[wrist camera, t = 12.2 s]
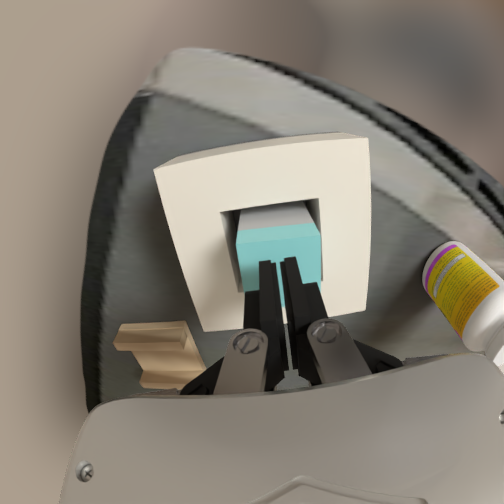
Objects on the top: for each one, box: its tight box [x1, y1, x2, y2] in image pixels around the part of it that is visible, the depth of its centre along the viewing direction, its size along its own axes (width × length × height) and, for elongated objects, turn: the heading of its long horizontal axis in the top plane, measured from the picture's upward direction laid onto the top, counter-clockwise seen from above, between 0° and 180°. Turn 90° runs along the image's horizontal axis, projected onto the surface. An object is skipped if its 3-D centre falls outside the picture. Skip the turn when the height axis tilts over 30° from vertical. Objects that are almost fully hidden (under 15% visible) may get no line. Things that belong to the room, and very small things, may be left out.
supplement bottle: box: [422, 241, 504, 367], centre depth 18 cm, size 7×7×13 cm
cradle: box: [113, 321, 207, 389], centre depth 28 cm, size 8×8×3 cm
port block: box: [154, 132, 371, 332], centre depth 19 cm, size 12×12×6 cm
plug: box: [236, 200, 321, 307], centre depth 17 cm, size 4×4×8 cm
